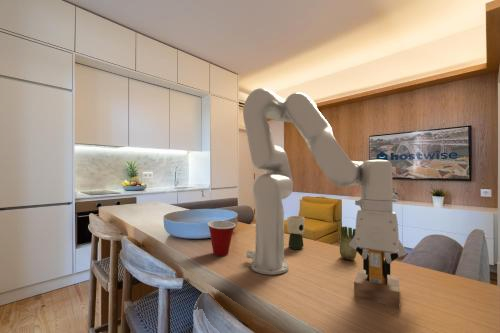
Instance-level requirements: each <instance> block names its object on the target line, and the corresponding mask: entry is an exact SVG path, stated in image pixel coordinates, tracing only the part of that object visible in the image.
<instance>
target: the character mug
mask: <svg viewBox="0 0 500 333" xmlns="http://www.w3.org/2000/svg"><path fill="white" fill-rule="evenodd" d="M305 222H306V221H305V217H304V216H300V215H289V216H287V232H288V233H290V234H289V238H288V247H289V248H292V249H294V250H300V249H301V250H302V249H304V239H303V235H302V234H304V233H305Z"/></svg>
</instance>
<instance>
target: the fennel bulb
mask: <svg viewBox="0 0 500 333" xmlns="http://www.w3.org/2000/svg"><path fill="white" fill-rule="evenodd" d="M354 236H355V228H352V227H348V226H340V242H339V254H340V257H341V258H343V259H344V260H347V261H353V260H356V257H357V253H358V252H357V251H356V250H355V249H353V248H352V247H351V246H350V245H349V243H350V242H351V240H352V239H353V238H354Z"/></svg>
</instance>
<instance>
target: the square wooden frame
mask: <svg viewBox="0 0 500 333" xmlns="http://www.w3.org/2000/svg"><path fill="white" fill-rule="evenodd" d="M353 296H354V297H355V298H358V299H364V300H368V301H371V302H375V303H379V304H382V305H386V306H391V307H395V308H398V309H400V276H397V275H392V274H390V275H387V279H385V285H384V284H380V283H375V282H370V281H369V275H366V270H363V268H362V269H361V268H358V271H357V274H356V276H355V278H354V281H353Z"/></svg>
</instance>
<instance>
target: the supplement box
mask: <svg viewBox="0 0 500 333" xmlns="http://www.w3.org/2000/svg"><path fill="white" fill-rule="evenodd" d="M368 255H369V281H370V282H375V283H380V284H384V285H385V278H384V260H385V252H383V251H376V250H370V249H369V250H368Z"/></svg>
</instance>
